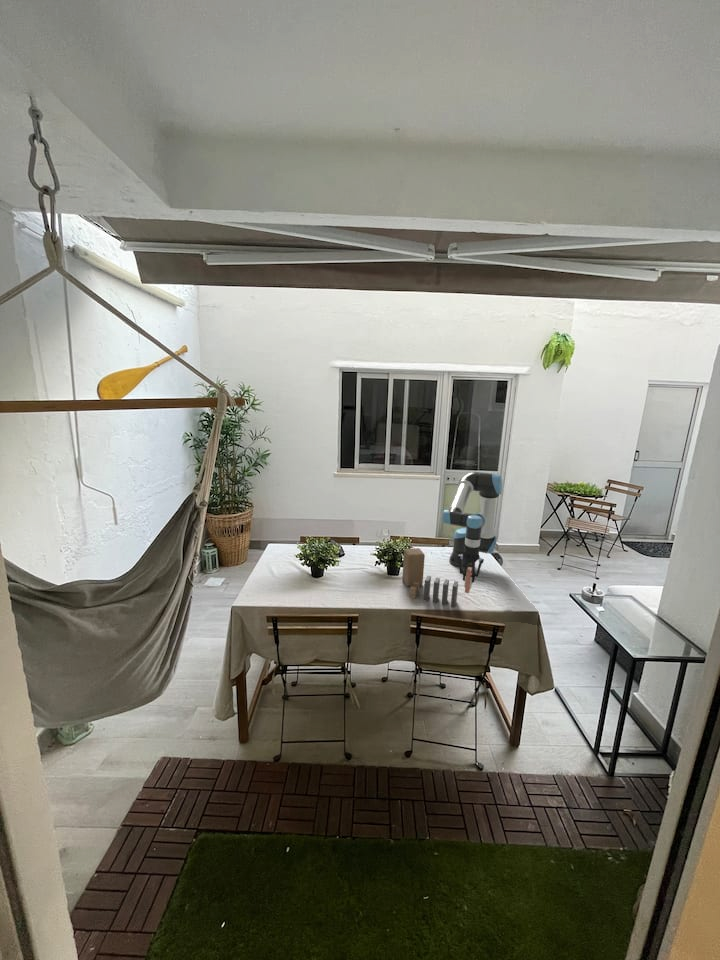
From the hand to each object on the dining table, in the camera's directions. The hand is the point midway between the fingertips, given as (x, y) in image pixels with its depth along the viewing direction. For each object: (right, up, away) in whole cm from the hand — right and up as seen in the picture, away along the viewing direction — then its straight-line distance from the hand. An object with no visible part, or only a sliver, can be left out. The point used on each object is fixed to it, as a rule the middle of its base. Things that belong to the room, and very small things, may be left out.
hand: (467, 586), depth 215 cm
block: (-26, -5, +28) cm, 38 cm away
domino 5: (0, -2, 0) cm, 2 cm away
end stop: (-27, -8, +13) cm, 31 cm away
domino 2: (-16, -10, +9) cm, 20 cm away
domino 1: (-20, -9, +11) cm, 25 cm away
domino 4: (-6, -11, +5) cm, 14 cm away
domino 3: (-11, -10, +7) cm, 17 cm away
